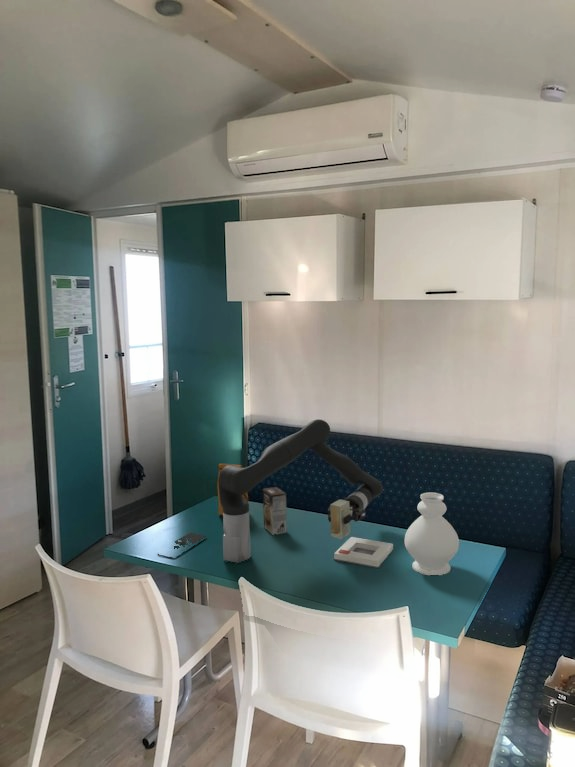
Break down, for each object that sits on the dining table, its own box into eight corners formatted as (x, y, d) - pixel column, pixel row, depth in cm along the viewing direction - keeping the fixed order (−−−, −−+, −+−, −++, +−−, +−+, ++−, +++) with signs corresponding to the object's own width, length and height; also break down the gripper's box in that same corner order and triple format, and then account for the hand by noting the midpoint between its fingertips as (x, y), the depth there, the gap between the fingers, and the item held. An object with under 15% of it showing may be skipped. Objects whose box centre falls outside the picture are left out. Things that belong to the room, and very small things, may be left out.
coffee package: (241, 520, 262) (239, 468, 259) (215, 517, 267) (213, 466, 264) (252, 512, 271) (250, 462, 268) (226, 509, 276) (224, 459, 273)
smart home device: (156, 551, 231) (189, 532, 248) (156, 555, 231) (189, 536, 249) (174, 555, 227) (207, 535, 245) (174, 560, 227) (207, 539, 245)
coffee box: (263, 527, 254) (261, 488, 252) (278, 524, 257) (276, 486, 254) (272, 535, 246) (271, 495, 244) (287, 532, 249) (286, 492, 246)
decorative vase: (394, 561, 221) (394, 491, 217) (438, 552, 227) (439, 484, 223) (423, 583, 204) (423, 508, 200) (469, 573, 210) (471, 500, 206)
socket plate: (378, 568, 216) (378, 559, 215) (334, 560, 223) (334, 551, 222) (392, 550, 230) (392, 542, 229) (351, 543, 237) (351, 535, 236)
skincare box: (340, 531, 230) (339, 498, 228) (350, 533, 227) (350, 500, 225) (330, 537, 225) (329, 503, 223) (340, 539, 222) (340, 506, 220)
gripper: (336, 492, 240) (318, 507, 225) (372, 497, 234) (356, 513, 219) (336, 511, 241) (318, 527, 226) (373, 516, 235) (356, 533, 220)
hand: (337, 520), depth 223 cm, fingers closed on skincare box, 5 cm apart
